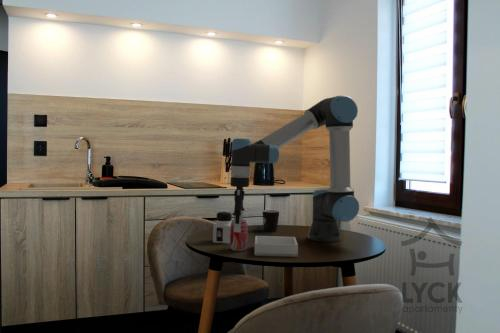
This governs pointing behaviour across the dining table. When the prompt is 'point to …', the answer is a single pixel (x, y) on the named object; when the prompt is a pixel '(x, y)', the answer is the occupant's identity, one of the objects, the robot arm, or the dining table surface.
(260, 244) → the bin
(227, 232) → the container
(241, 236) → the soda can
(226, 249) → the dining table surface
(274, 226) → the coffee mug
